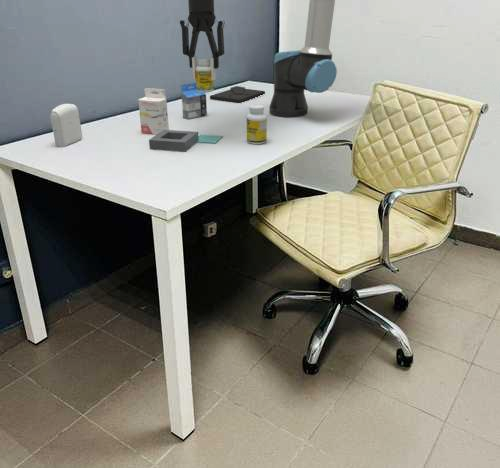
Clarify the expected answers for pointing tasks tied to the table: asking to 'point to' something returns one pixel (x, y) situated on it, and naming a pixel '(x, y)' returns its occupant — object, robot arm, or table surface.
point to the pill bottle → (256, 125)
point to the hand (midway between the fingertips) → (204, 78)
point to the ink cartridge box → (153, 111)
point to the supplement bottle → (204, 76)
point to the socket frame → (173, 140)
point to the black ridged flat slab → (237, 95)
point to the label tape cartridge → (193, 102)
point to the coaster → (208, 139)
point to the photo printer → (66, 124)
